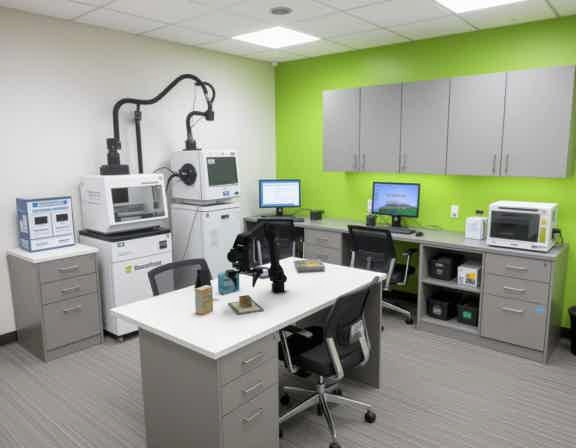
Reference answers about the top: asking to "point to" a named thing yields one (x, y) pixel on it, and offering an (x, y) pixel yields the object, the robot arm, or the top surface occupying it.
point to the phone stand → (202, 278)
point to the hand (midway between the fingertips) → (244, 288)
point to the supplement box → (203, 299)
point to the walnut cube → (245, 301)
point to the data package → (226, 283)
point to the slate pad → (240, 310)
